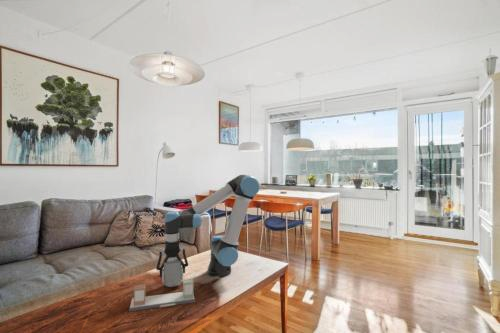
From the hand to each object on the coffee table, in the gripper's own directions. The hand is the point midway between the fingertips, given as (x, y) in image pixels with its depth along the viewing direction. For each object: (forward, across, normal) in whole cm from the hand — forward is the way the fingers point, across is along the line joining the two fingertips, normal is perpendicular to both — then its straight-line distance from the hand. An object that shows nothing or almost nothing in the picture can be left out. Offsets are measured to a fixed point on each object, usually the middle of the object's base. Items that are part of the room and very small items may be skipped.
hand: (172, 280), depth 144 cm
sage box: (+4, -7, +13) cm, 15 cm away
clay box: (+3, +16, +13) cm, 21 cm away
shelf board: (+4, +5, +13) cm, 15 cm away
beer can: (+1, 0, 0) cm, 1 cm away
